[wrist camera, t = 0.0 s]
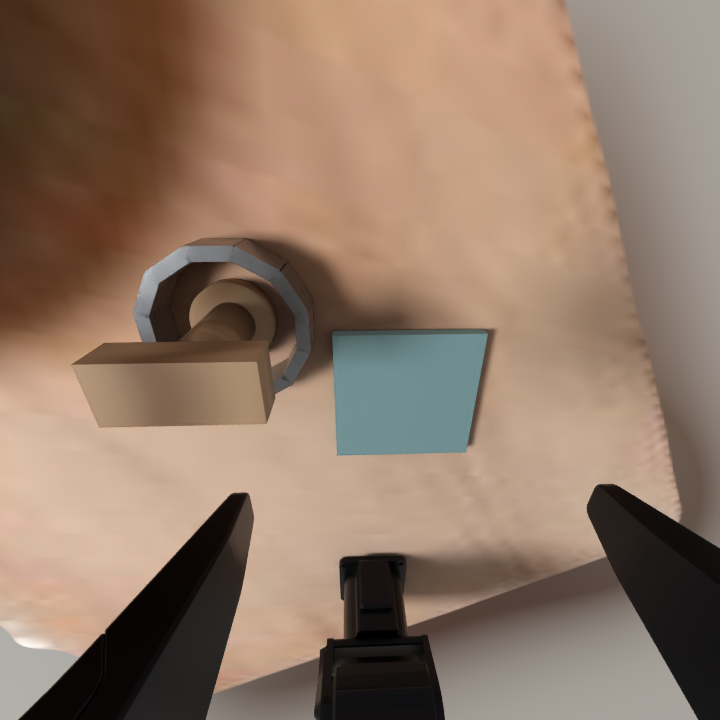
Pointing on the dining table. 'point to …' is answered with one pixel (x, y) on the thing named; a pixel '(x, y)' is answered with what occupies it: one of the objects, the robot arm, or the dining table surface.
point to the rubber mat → (406, 389)
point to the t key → (190, 367)
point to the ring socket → (163, 276)
